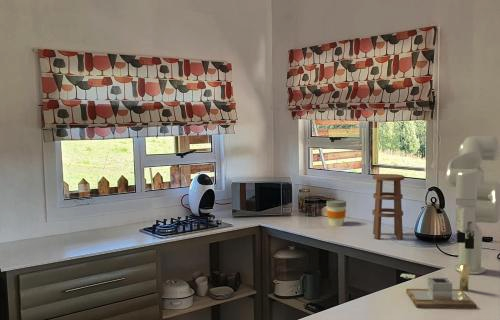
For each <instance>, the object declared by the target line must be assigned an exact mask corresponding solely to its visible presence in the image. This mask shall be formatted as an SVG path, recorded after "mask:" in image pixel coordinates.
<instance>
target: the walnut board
mask: <svg viewBox="0 0 500 320" xmlns="http://www.w3.org/2000/svg"><path fill="white" fill-rule="evenodd" d="M405 289H406V294H407V296H408V297H409V298H410V300H411V301H412V303H413V305H414V307H416V308H424V309H425V308H427V309H428V308H429V309H432V308H434V309H435V308H436V309H437V308H438V309H476V305H477V304H476V303H475V302H474V301H473V300H472V299H471V298H470V296H469V295H468V294H466V293H465V291H462V290H461V289H460V288H458V289H457V288H456V289H455V288H452V291H461V292H462V293H463V294H464V295H465V296H466V297H467V298H468V299H469V300H470V301H453V300H445V299H434V301H417V300H416V298H415V297H414V295H413V294H412V292H411V290H423V291H427V292H428V288H405Z"/></svg>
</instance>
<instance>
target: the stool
mask: <svg viewBox="0 0 500 320" xmlns="http://www.w3.org/2000/svg"><path fill="white" fill-rule="evenodd" d="M372 180H375V181H376V182H375V183H376V184H375V185H376V186H375V193H373V198H374V199H375V200H374V209H372V210H371V211H372V215H373V227H372V235H374V237H373V239H374V240H378V241H379V240H381V239H382V237H381V236H382V218H394V219H393V223H394V224H393V226H394V227H393V229H394V233H393V234H395V236H396V237H395V238H396V239H397V241H403V240H404V235H403V233H404V232H403V231H404V230H403V216H404V211H403V210H402V209H403V208H402V199H403V193H402V185H401V181H404V180H405V175H404V174H396V173H395V174H394V173H378V174H377V173H376V174H373V175H372ZM384 181H387V182H391V181H393V192H389V191H388V192H386V191H385V192H384V191H383V187H384V186H383V185H384V184H383V182H384ZM383 200H384V201H385V200H386V201H393V208H391V207H389V208H388V207H385V208H383ZM396 239H395V240H396ZM402 239H403V240H402Z"/></svg>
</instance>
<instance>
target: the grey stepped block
mask: <svg viewBox="0 0 500 320" xmlns="http://www.w3.org/2000/svg"><path fill="white" fill-rule="evenodd" d="M427 289H428V292H427V291H423V290H411V292H412V294H413V295H414V297H415V298H416V300H417V301H434V299H445V300H453V301H470V300H469V299H468V298H467V297H466V296H465V295H464V294H463V293H462V292H461V291H452V289H453V282H451V281H450V279H448V278H447V277H427Z"/></svg>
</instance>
